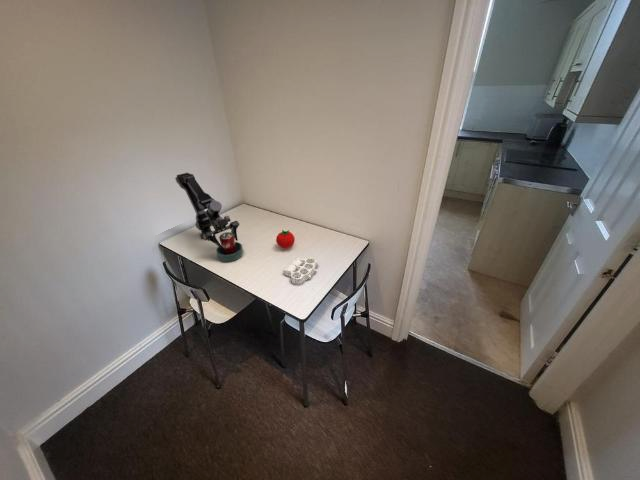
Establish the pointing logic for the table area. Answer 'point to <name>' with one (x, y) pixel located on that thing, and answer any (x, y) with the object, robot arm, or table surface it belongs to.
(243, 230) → the table surface
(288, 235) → the tomato
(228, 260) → the bowl
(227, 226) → the robot arm
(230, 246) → the soda can
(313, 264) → the white muffin tray
